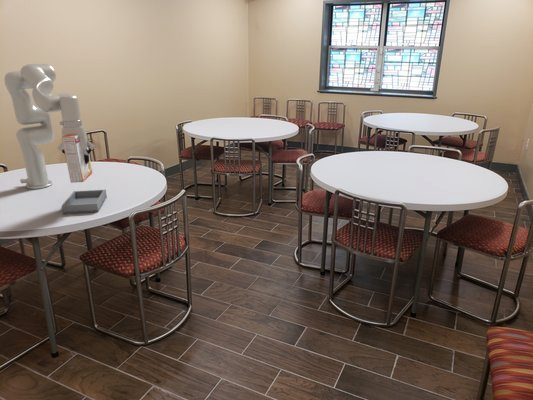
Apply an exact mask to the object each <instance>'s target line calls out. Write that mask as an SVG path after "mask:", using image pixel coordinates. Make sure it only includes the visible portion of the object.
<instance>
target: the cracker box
mask: <svg viewBox="0 0 533 400" xmlns="http://www.w3.org/2000/svg"><path fill="white" fill-rule="evenodd" d="M80 133H81V132H80ZM61 140H63V146H64V151H65V154H64V155H65V160H66V165H67V170H68V175H69V179H70V183H83V182H85V181H86V180H87V179H89V177H90V176H91V175H92V174H93V168H92V162H91V156H90V155H91V154H89V160H90V161H89V163H88V164H86V163H85V157H84V155H85V153H84V152H83V150H81V144H80V139H79V135H65V136H63V137H62V136H61ZM87 149H88V150H89V147H87Z"/></svg>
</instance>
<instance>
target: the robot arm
mask: <svg viewBox="0 0 533 400" xmlns="http://www.w3.org/2000/svg"><path fill="white" fill-rule="evenodd" d="M56 78H57V73H56V70H55V68H54V67H53V66H52V65H50V64H48V63H36V64H35V63H34V64H33V63H32V64H25V65H23V66H22V67H21V69H20V70H14V71H10V72H7V73H5V75H4V78H3V79H4V86H5V87H6V90H7V91H8V93H9V95H10V98H11V100H12V101H11V103H12V106H13V111H14V115H15V118H16V122H17V123H18V124H19V125H22V126H25V127H22V128H19V129H18V130H17V131H16V133H15V134H16V136H15V137H16V140H17V142H18V146H19V148H20V150H21V154H22V159H23V164H24V167H25V172H26V177H27V178H20V179H19V181H20V184H25V188H26V189H28V190H40V189H45V188H48V187H50V186H52V185H53V182H52V181H51V180H49V177H48V172H47V165H46V161H45V154H44V152H43V150H42V149H40V148H39V147H38V145H43V144H49V143H52V142H53V141H54V140H55V131H54V125H53V119H52V115H51V113H56V112H60V114H61V121H59V125H60V126H62V128H61V138H62V137H63V136H65V135H79V139H80V144H81V150H83V152H84V153H85V155H84V157H85V163H86V164H88V163H89V161H91V159H90V160H89V155H90V153H91V152H92V151H93V150H94V148H95V147H96V146H95V144H93V143H92V142H91V141H89V139H88V135H87V134H88V133H87V132H86V129H85V126H84V125H83V121H82V116H81V115H82V114H81V110H80V103H79V98H78V97H77V95H75V94H69V93H53V94H52V93H51V92H52V91H53V90H54V82H55V80H56ZM29 89H30V90H31V89H32V91H31V95H32V96H31V95H30V93H29V92H28V91H27V90H29ZM50 93H51V94H50ZM32 100H33V101H32ZM33 102H34V104H33ZM35 124H39V125H35ZM27 125H28V126H27ZM29 125H35V126H29ZM80 132H81V133H80ZM61 140H62V139H61ZM87 147H88V149H87ZM89 147H90V148H89ZM57 149H58V150H59V152H62V153H63V155H65V151H64V146H63V140H62V142H61V144H59V146H58V147H57Z"/></svg>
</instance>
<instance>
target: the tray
mask: <svg viewBox="0 0 533 400" xmlns="http://www.w3.org/2000/svg"><path fill="white" fill-rule="evenodd" d="M107 197H108V196H107V190H106V189H93V190H90V189H88V190H73V192H72V193H71V194H70V195H69V197H67V199H66V200H65V201H64V202H63V203H62V205H61V210H62V214H63V215H70V214H71V215H72V214H89V213H99V211H100V210H101V208H102V207H103V205H104V202H105V201H106V199H107Z"/></svg>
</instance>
